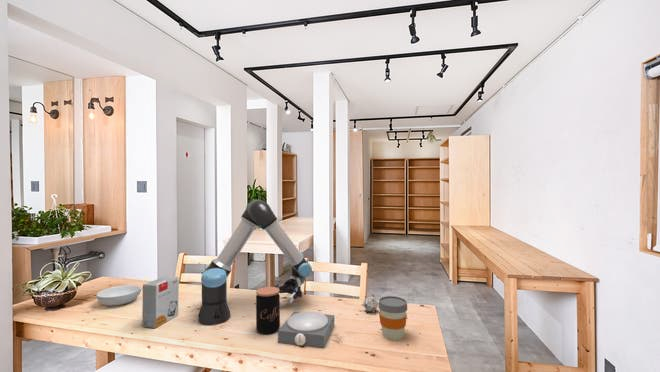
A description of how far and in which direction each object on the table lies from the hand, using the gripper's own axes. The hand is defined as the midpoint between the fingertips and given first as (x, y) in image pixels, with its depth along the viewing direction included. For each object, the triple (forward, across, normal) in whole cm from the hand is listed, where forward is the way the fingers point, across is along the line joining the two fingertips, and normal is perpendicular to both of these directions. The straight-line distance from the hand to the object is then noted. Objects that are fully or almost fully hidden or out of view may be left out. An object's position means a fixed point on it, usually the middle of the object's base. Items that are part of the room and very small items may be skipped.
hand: (277, 298), depth 152 cm
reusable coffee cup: (+4, -56, -10) cm, 57 cm away
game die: (-19, -44, -11) cm, 49 cm away
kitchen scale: (+11, -19, -10) cm, 24 cm away
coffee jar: (+11, 0, -10) cm, 15 cm away
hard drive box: (+14, +55, -10) cm, 58 cm away
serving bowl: (-1, +96, -10) cm, 97 cm away
